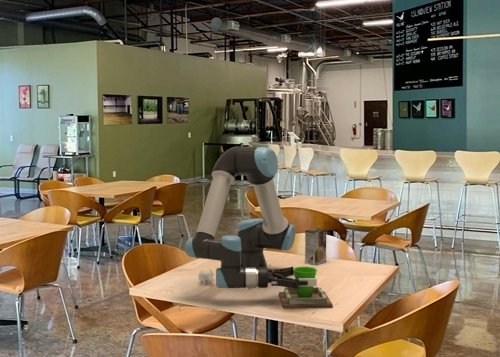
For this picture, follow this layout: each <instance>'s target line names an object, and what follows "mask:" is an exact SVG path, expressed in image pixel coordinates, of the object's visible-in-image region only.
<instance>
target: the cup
mask: <svg viewBox="0 0 500 357" xmlns="http://www.w3.org/2000/svg"><path fill="white" fill-rule="evenodd" d="M293 271H294V274H295V276H294V279H298V280H299V279H306V278H316V275H317V271H318V269H317V268H316V267H313V266H306V265H305V266H304V265H303V266H296V267H293ZM294 274H293V275H294ZM313 287H315V286H299V289H297V295H298V298H311V297H312V292H313Z"/></svg>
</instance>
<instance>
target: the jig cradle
mask: <svg viewBox="0 0 500 357" xmlns="http://www.w3.org/2000/svg"><path fill="white" fill-rule="evenodd" d="M278 296H279V300H280V302H281V305H282V308H283V309H331V308H333V307H334V305H333V303H332V301H331V299H330V298H329V297H328V295H327V293H326V291H324V290H323V289H322V287H319V286H314V287H313V292H312V297H311V298H298V295H297V289H296V288H289V287H283V291H278Z"/></svg>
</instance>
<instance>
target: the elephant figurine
mask: <svg viewBox="0 0 500 357" xmlns="http://www.w3.org/2000/svg"><path fill="white" fill-rule="evenodd" d="M198 281H199V283H200V284H202V285H207V284H211V283H212V282H213V281H214V271H213V270H212V268H209V269H207V270H200V271H199V273H198Z"/></svg>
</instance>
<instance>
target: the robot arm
mask: <svg viewBox="0 0 500 357" xmlns="http://www.w3.org/2000/svg"><path fill="white" fill-rule="evenodd" d="M278 163H279V159H278V156H277V154H276V152H275V151H274V149H272V148H270V147H265V146H241V145H240V146H234V147H230V148H229V149H227V150H225V151H224V152H223V153H222V154H221V155H220V156H219V158H218V159H217V160H216V162H215V164H214V166H213V169H212V171H211V176H212V181H211V184H210V186H209V189H208V193H207V196H206V200H205V203H204V206H203V210H202V213H201V216H200V218H199V223H198V226H197V229H196V232H195V235H194V236H193V237H189V238H187V240H186V242H185V245H184V251H185V253H186V255H187V257H191V258H195V259H202V260H211V261H218V262H219V261H220V267H217V268H216V269H215V286H216V288H218V289H226V290H227V289H228V290H229V289H248V290H251V288H252V289H256V288H258V289H267V288H268V286H269V284H270V286H271V287H281V288H285V287H289V288H296V289H299V286H314V287H318V286H317V283H318V279H317V278H316V277H315V278H306V279H299V280H298V279H295V278H294V277H295V274H294V271H293V269H294V266H288V267H283V268H276V269H268V263H267V261H266V257H265V255H264V249H266V250H275V251H280V252H283V251H285V252H286V251H287V252H288V251H290V250H291V249H292V248H293V246H294V242H295V238H296V226H295V225H294V224H292V223H291V224H290V223H289V221H288V219H287V217H285V216H284V215H283V211H282V208H281V203H280V200H279V196H278V193H277V188H276V186H275V181H274V179H275V177H276V174H277V173H278V169H279V165H278ZM236 176H237V177H238V176H246V179H247V181H248V183H249V184H251V185H252V186H253V189H254V192H255V197H256V199H257V203H258V206H259V208H260V212H261V216H262V218H259V217H258V218H257V217H256V218H248V219H243V220H241V221H239V222H238V224H237V225H238V226H237V235H222V237H221V238H220V240H219V239H215V238H216V234H217V231H218V228H219V224H220V222H221V218H222V214H223V211H224V208H225V205H226V201H227V197H228V194H229V191H230V188H231V184H232V183H234V181H235V180H236ZM292 276H293V278H292Z"/></svg>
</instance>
